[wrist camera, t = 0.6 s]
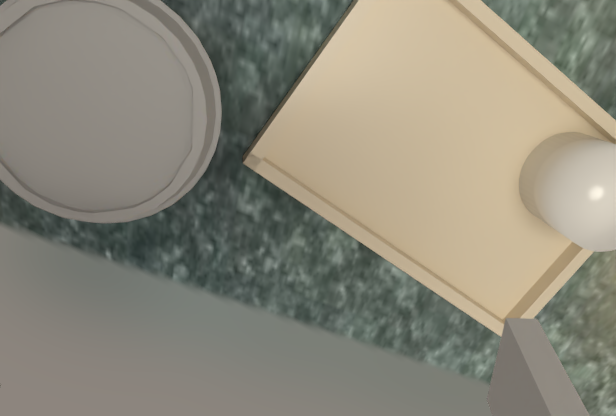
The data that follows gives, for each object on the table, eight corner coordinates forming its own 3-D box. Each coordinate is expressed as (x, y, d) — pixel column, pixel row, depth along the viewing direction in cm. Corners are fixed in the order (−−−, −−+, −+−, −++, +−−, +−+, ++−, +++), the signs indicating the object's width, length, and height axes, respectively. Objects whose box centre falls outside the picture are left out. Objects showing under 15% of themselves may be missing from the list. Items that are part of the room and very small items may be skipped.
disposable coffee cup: (176, 190, 34) (141, 275, 22) (28, 103, 31) (-96, 149, 20) (261, 57, 32) (269, 76, 20) (110, -47, 29) (23, -91, 18)
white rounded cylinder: (564, 112, 34) (615, 127, 29) (626, 166, 36) (684, 188, 31) (500, 189, 35) (538, 215, 31) (563, 238, 37) (609, 269, 32)
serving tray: (397, -62, 30) (405, -67, 29) (649, 161, 36) (669, 168, 35) (243, 156, 33) (242, 163, 32) (499, 329, 39) (510, 343, 38)
